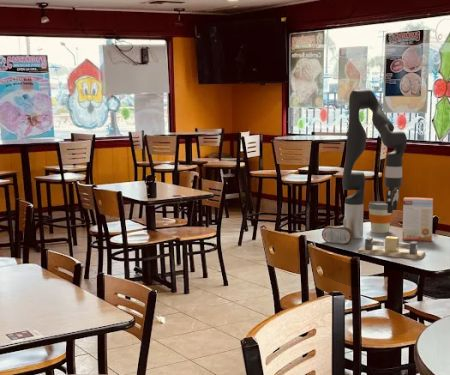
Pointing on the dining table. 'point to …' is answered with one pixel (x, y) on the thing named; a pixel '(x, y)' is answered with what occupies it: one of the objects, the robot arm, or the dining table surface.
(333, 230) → the tin
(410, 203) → the cracker box
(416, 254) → the shaft rig
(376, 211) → the reusable coffee cup
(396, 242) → the coupler
